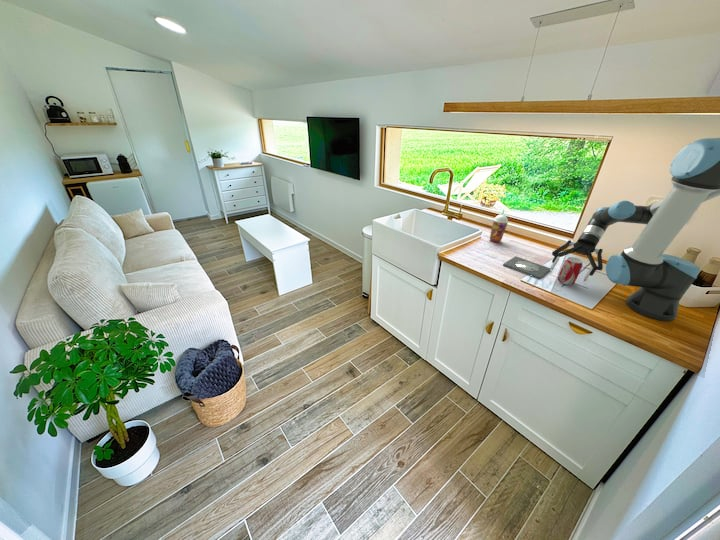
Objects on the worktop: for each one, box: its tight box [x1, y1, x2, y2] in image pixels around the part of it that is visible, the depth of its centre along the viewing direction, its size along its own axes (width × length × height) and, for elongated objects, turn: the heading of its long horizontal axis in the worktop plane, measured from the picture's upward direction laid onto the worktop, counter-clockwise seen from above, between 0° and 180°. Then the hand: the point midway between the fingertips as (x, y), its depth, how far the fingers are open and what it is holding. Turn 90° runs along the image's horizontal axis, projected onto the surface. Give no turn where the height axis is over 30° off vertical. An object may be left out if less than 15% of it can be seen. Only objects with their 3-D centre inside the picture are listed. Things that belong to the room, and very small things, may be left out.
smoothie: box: [489, 209, 509, 244], centre depth 173 cm, size 8×8×20 cm
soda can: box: [557, 256, 583, 286], centre depth 131 cm, size 7×7×12 cm
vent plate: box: [502, 255, 552, 280], centre depth 146 cm, size 18×15×1 cm
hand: (567, 274), depth 131 cm, fingers open, 13 cm apart
